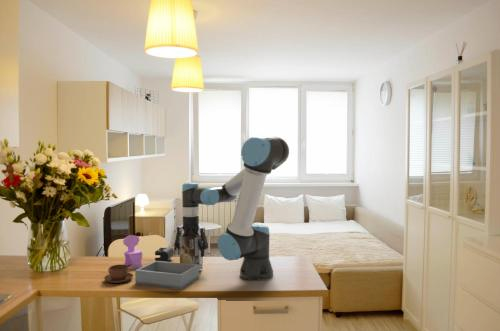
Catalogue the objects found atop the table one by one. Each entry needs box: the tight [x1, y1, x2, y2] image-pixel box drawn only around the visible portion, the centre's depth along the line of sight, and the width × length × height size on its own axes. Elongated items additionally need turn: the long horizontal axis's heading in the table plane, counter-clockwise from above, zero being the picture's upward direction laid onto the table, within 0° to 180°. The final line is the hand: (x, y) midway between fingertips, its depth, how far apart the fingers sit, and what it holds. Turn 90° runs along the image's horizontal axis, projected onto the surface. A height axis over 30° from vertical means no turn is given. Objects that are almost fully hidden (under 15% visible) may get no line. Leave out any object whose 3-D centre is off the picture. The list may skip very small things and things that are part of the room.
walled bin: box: [134, 260, 200, 290], centre depth 181 cm, size 22×16×6 cm
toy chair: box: [122, 234, 143, 270], centre depth 204 cm, size 8×9×15 cm
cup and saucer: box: [104, 264, 134, 284], centre depth 182 cm, size 12×12×6 cm
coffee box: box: [179, 234, 203, 271], centre depth 197 cm, size 9×6×16 cm
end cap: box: [154, 246, 175, 262], centre depth 213 cm, size 10×7×7 cm
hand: (191, 262), depth 197 cm, fingers closed on coffee box, 9 cm apart
